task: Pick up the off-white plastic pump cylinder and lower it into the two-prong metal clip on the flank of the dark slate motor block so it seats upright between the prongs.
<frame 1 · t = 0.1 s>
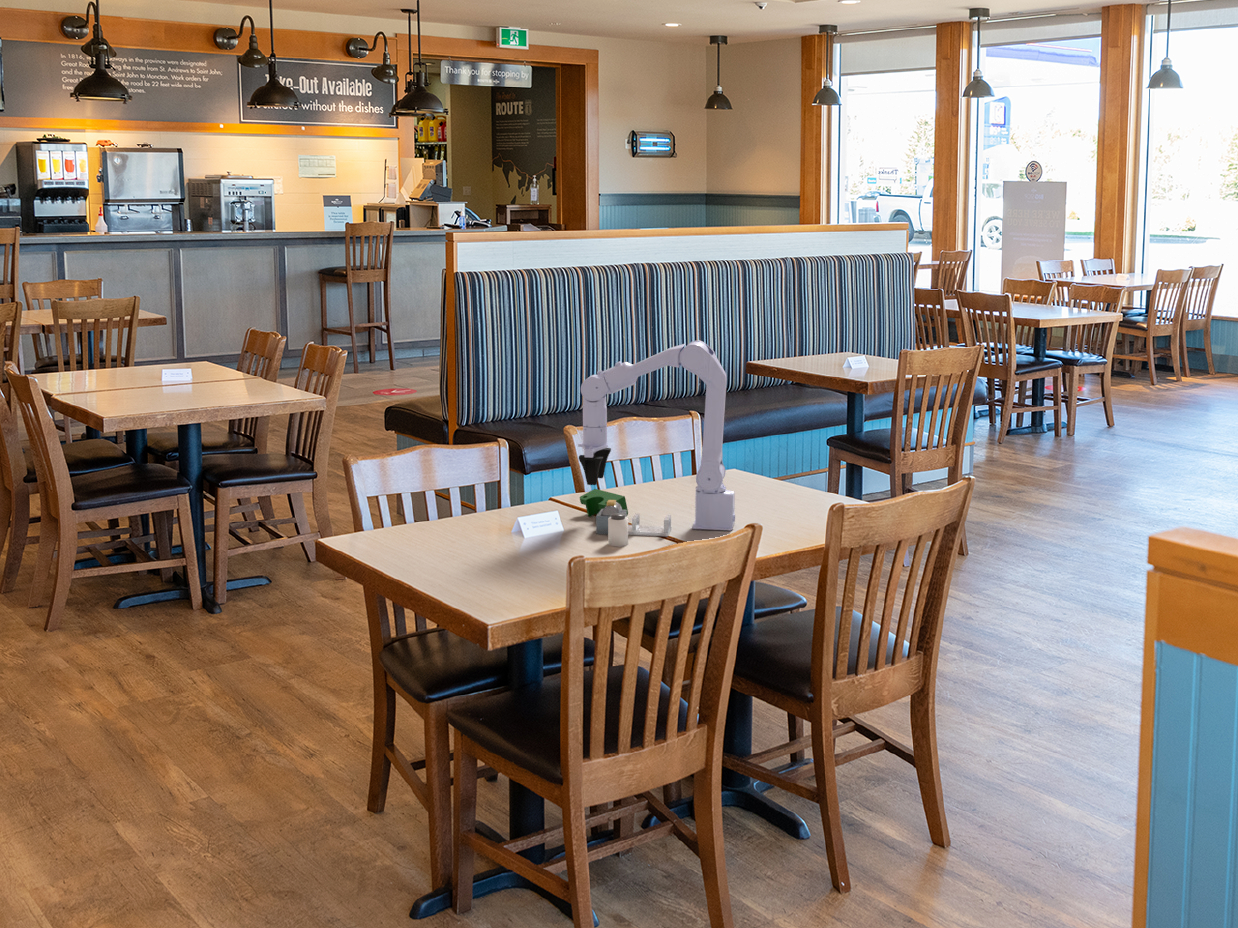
hand: (595, 481, 295), 10 cm above the table, fingers open, 7 cm apart
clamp: (603, 517, 302), on the table
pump: (618, 543, 278), on the table
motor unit: (651, 532, 288), on the table
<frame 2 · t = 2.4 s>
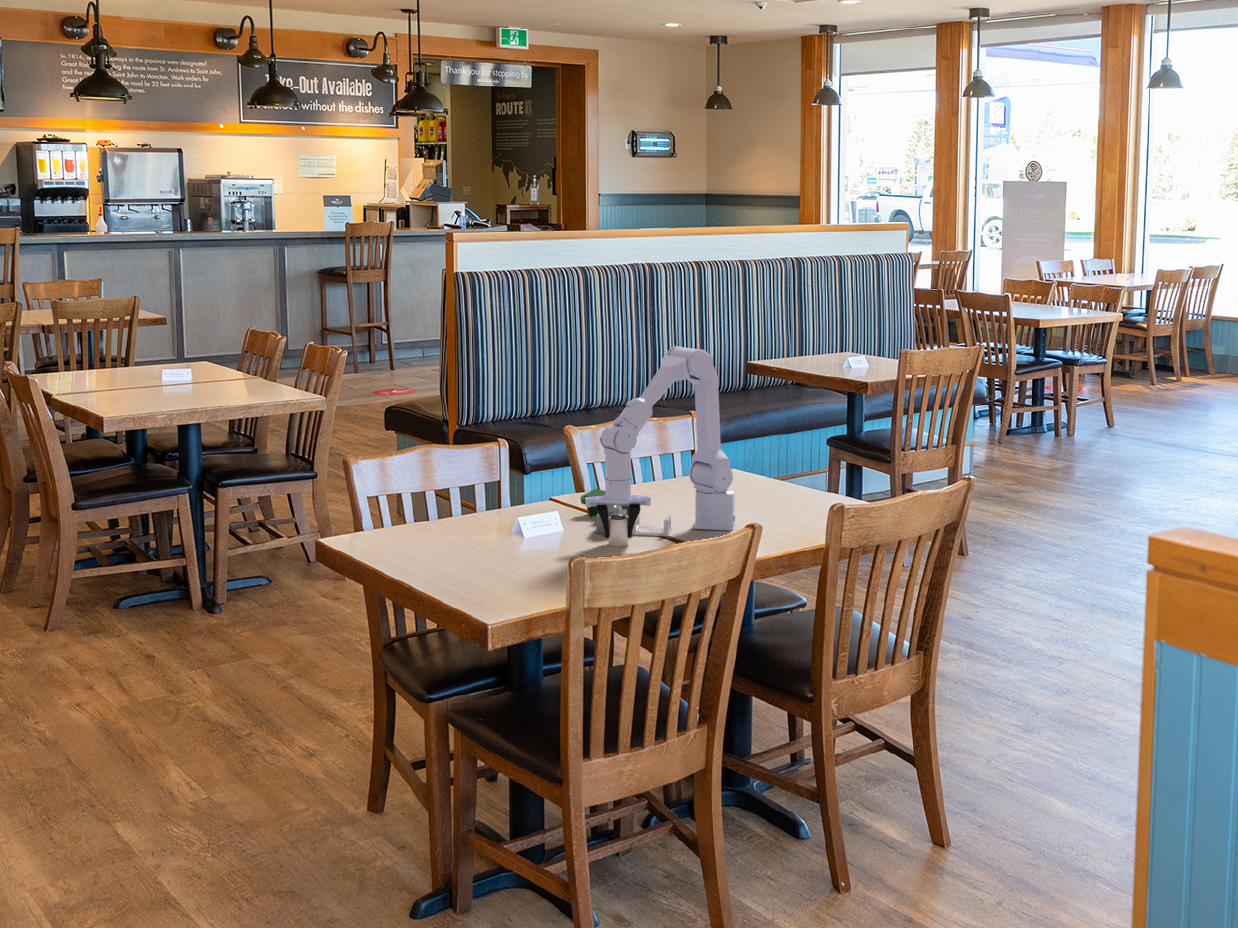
hand: (618, 536, 278), 2 cm above the table, fingers closed on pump, 4 cm apart
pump: (618, 543, 278), on the table, touching gripper
everything else where it was.
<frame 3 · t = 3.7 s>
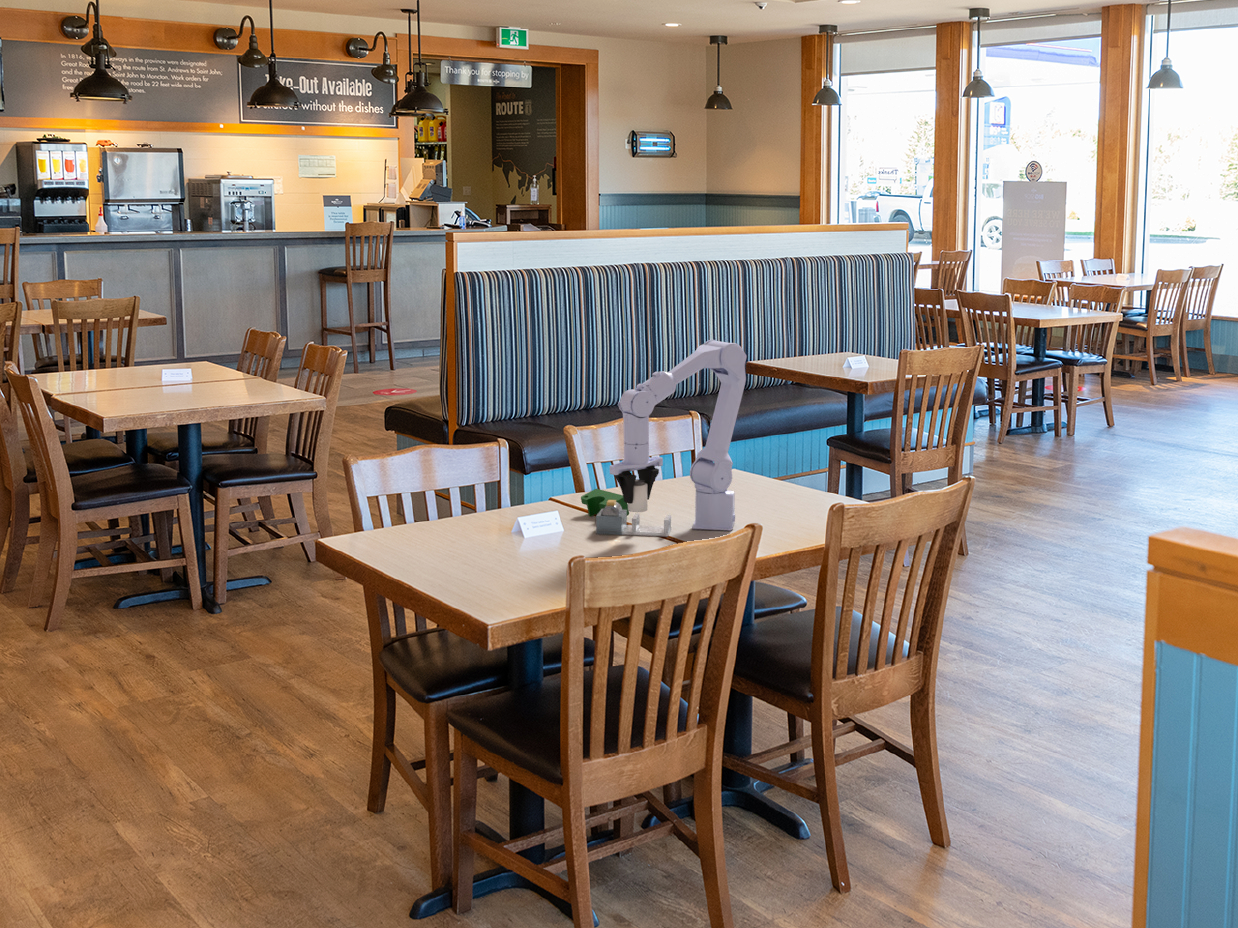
hand: (636, 500, 281), 9 cm above the table, fingers closed on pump, 4 cm apart
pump: (637, 509, 281), point 7 cm above the table, touching gripper
everything else where it was.
when the fingers open (4 cm above the table, at t = 5.4 s): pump stays where it is, resting on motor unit.
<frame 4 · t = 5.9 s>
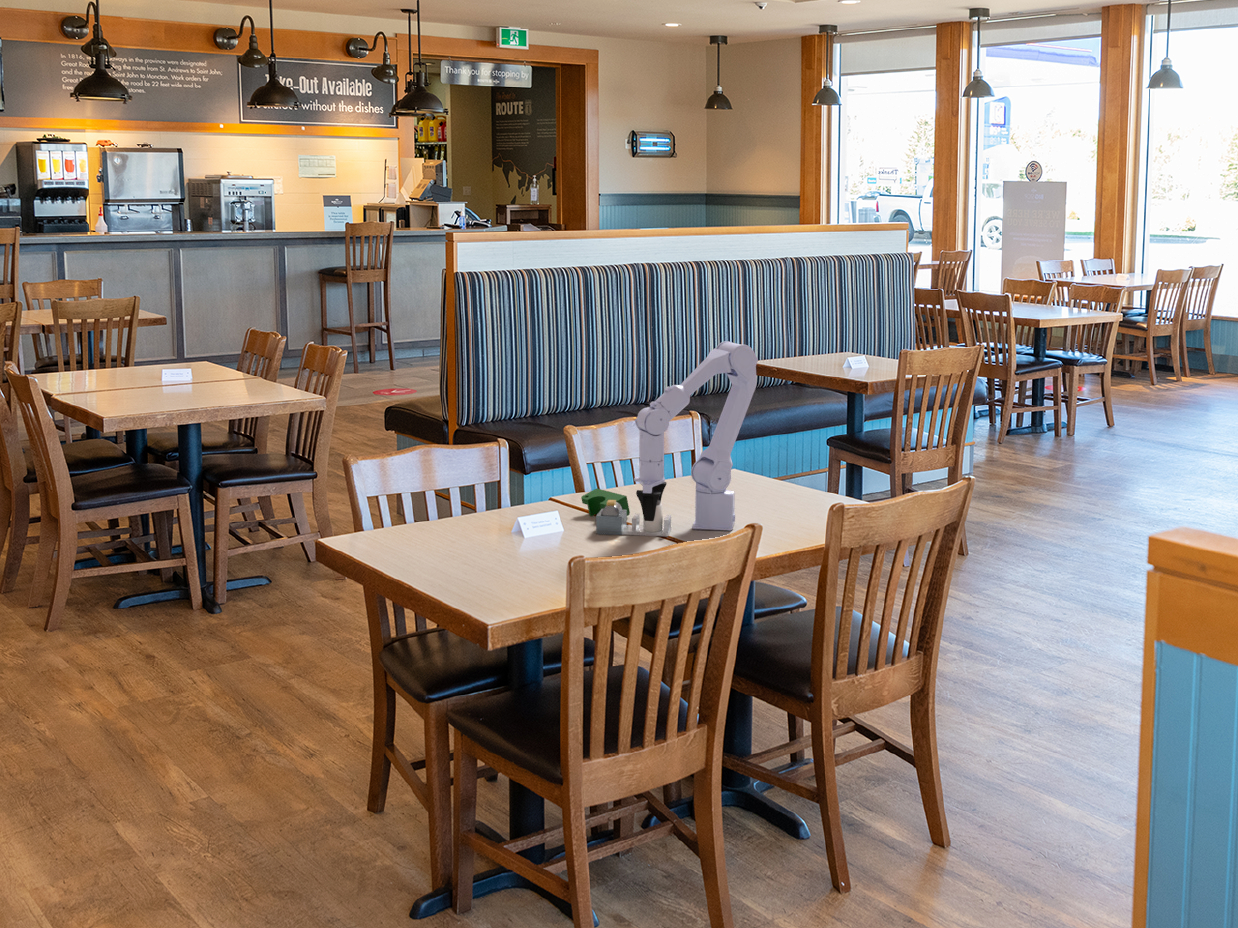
hand: (651, 516, 287), 4 cm above the table, fingers open, 7 cm apart
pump: (652, 529, 287), point 1 cm above the table, touching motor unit
everything else where it was.
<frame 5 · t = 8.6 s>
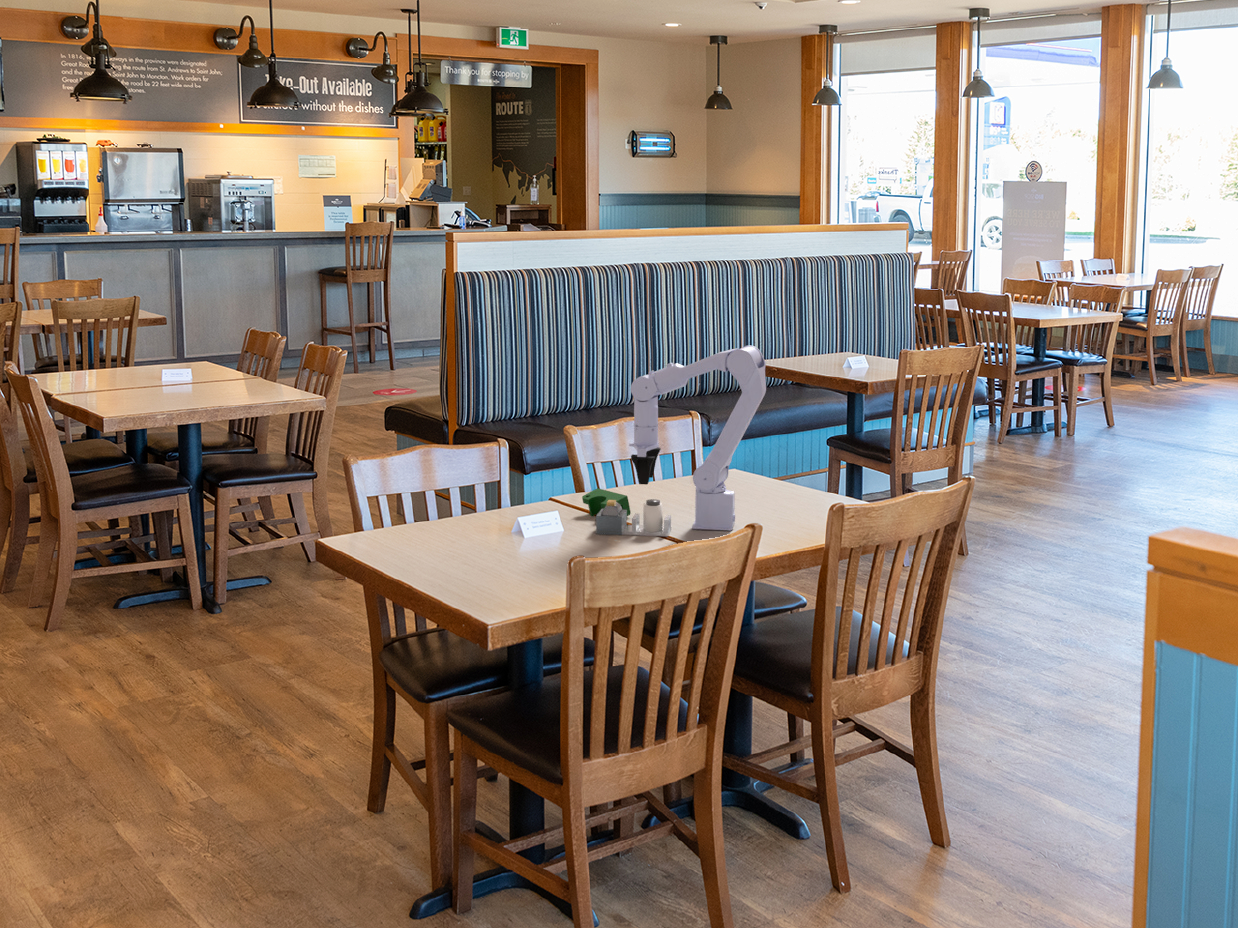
hand: (645, 480, 297), 10 cm above the table, fingers open, 7 cm apart
nothing on the table moved.
at the end: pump 0.3 cm off-centre on the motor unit, point 0.8 cm above the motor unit's base; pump tilted 1°; the gripper is holding nothing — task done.
